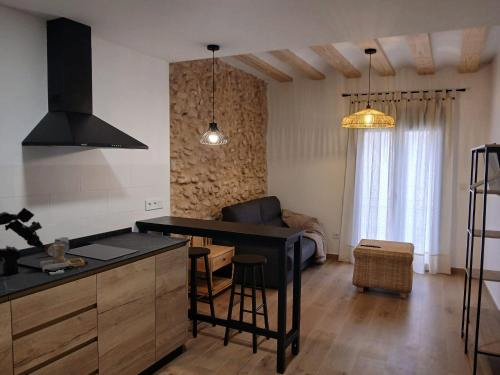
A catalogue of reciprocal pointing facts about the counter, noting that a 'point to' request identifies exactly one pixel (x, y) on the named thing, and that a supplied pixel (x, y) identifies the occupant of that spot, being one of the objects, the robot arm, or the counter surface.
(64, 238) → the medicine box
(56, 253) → the beech block
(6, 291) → the counter surface
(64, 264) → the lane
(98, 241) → the counter surface
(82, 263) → the trap tray
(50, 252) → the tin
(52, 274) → the pad
